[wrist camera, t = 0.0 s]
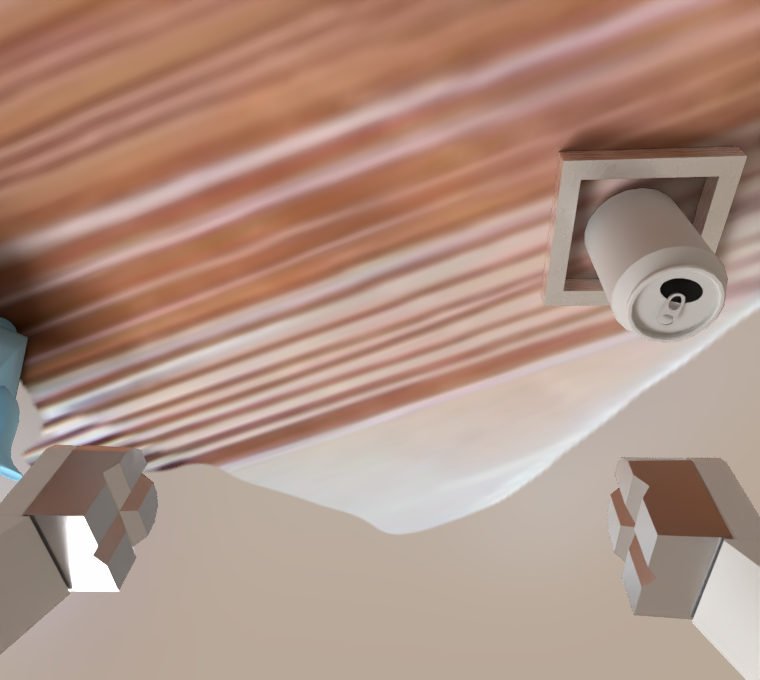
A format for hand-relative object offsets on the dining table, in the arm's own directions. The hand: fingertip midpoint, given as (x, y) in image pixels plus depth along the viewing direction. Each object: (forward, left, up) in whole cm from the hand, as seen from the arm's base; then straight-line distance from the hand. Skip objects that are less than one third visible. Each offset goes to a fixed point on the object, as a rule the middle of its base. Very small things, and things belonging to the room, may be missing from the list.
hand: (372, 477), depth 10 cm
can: (+15, +17, -39) cm, 45 cm away
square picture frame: (+15, +17, -39) cm, 45 cm away
